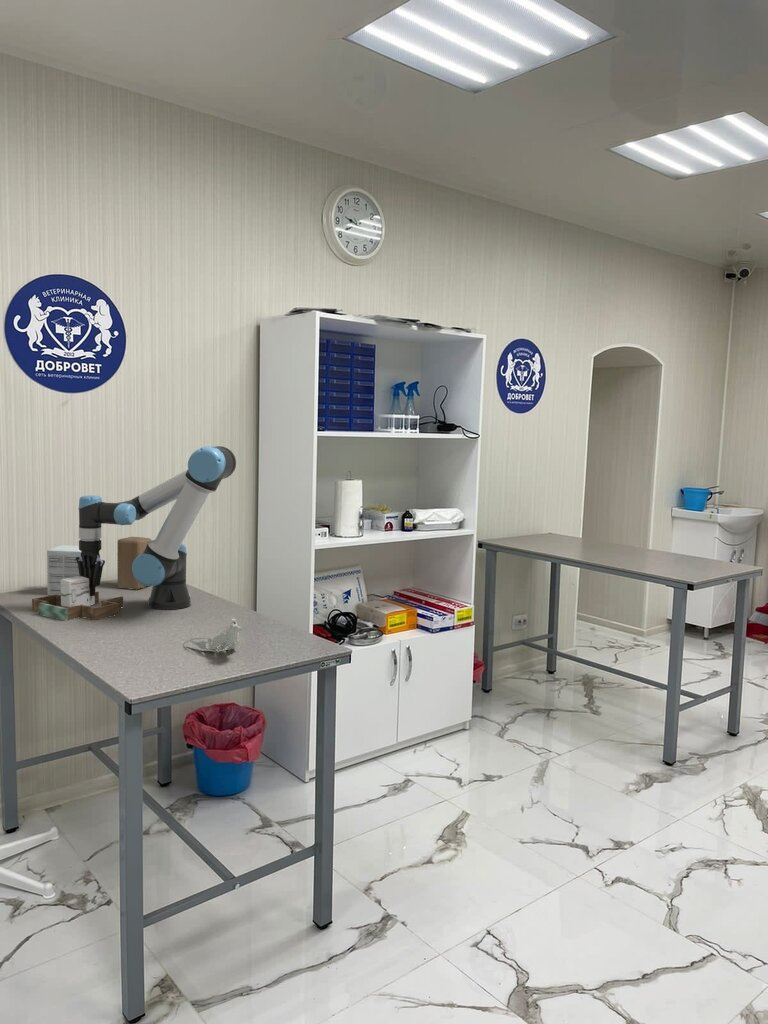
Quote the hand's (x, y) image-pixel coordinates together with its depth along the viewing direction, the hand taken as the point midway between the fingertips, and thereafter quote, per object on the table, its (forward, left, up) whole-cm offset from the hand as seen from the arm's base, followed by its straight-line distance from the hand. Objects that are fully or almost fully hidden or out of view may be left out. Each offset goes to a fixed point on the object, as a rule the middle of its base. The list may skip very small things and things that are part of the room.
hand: (90, 604), depth 281 cm
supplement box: (+28, -13, -2) cm, 31 cm away
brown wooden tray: (0, +4, -2) cm, 4 cm away
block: (+17, -35, -2) cm, 39 cm away
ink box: (+1, +6, -2) cm, 6 cm away
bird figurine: (-72, +12, -2) cm, 73 cm away
